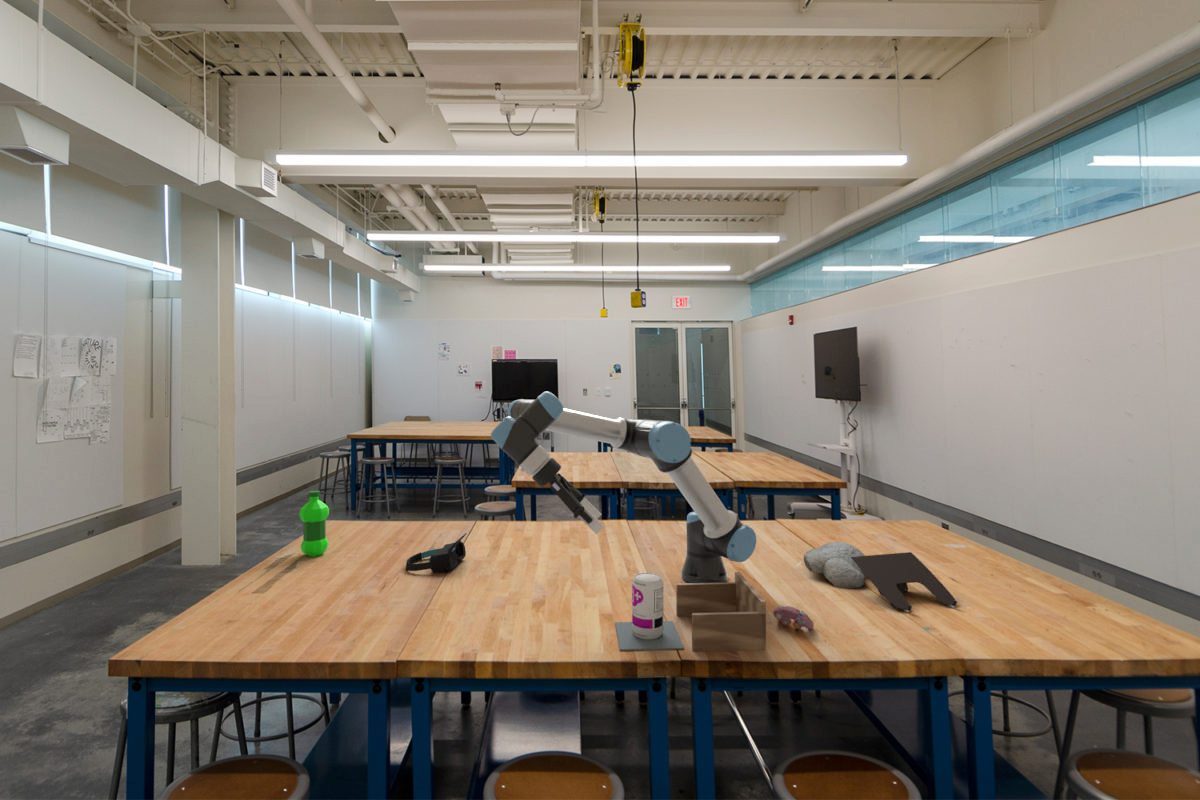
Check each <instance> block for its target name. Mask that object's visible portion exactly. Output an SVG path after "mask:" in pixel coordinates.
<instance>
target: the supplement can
mask: <svg viewBox="0 0 1200 800" xmlns="http://www.w3.org/2000/svg"><path fill="white" fill-rule="evenodd" d="M663 581H664V580H663V579H662V576H660V574H657V573H652V572H640V573H636V574H635V575H634V578H633V580H632V581H631V588H632V589H631V591H632V592H631V593H632V594H631V595H632V596H631V597H632V598H631V600H632V601H631V605H632V606H631V607H632V608H631V622H632V632H633V633H634V634H635V636H636V637H638V638H641V639H645V640H653V639H657V638H659V637H660V636H661V635H662V634H663V621H664V582H663Z"/></svg>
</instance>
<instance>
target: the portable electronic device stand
mask: <svg viewBox="0 0 1200 800" xmlns="http://www.w3.org/2000/svg"><path fill="white" fill-rule="evenodd" d="M851 559H853V560H854V562H855V563H856V564H857V565H858V567H859V568H860V569H861V570H862V572H863V573H864V574H865V575H866V576H867V577H868V578H867V579H868V581H870V582H871V583H872V584H873V585H874V587H875V588H876V589H877V591H878V593H879V594H880V595H883V596H884V598H885V599H887V600H888V601H889V603H890V604H889V605H890V607H892V608H893V609H898V610H903V611H904V612H905V613H907V614H909V613H910V612H911V610H912V609H913V605H911V604H910V603H909V601H907V599H906V598H905V595H904V594H903V593H907V592H908V591H909V587H908V584H910V583H918V584H920V585H922V586H923V587H925V588H926V589H927V590H928V591H929V592H930V593H931V594H932V595H933V596H935V597H936V598H937V599H938V600H939V601H940V602H942V603H943V604H944V605H946V606H948V607H949V608H951V609H952V608H953V609H954V608H955V607H956V606H957V603H958V601H957V600H956V598H955V597H954V596H953V595H952V593H951V592H950V591H949V590H948V589H947V588H946V587H945V585H944V584H943V583H942V582H941V581H940V580H939V579H938V578H937V576H936V575H934V574H933V572H932V571H931V570H930V569H929V568H928V567H927V566H926V565H925V564H924V563H923V562H921V560H920V559H919V558H918V557H917V556H916V555H915V554H914V553H913V552H912V551H908V552H897V553H886V554H885V553H883V554H872V555H871V554H870V555H865V556H856V557H851Z"/></svg>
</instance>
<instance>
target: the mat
mask: <svg viewBox="0 0 1200 800" xmlns="http://www.w3.org/2000/svg"><path fill="white" fill-rule="evenodd" d="M614 625H615V631H616V637H617V641H618V647H619V652H622V651H627V652H628V651H665V650H667V651H668V650H685V647H684V644H683V643H682V640H681V637H680V635H679V633H678V630H677V628H676V625H675V623H674V621H673V620H663V634H662V635H661V636H660V637H659V638H657V639H653V640H645V639H641V638H638V637H636V636H635V634H634V633H633V632H632V621H615V623H614Z"/></svg>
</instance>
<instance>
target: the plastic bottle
mask: <svg viewBox="0 0 1200 800" xmlns="http://www.w3.org/2000/svg"><path fill="white" fill-rule="evenodd" d="M307 494H308V495H307V497H309V501H307V502H306V503H305V504H304V505H302V507H301V508H300V510H299V512H298V514H299V519H300V521H302V522H303V523H302V525H303V527H302V529H303V540H302V542H301V544H300V549H301V552H302V553H303V554H305V555H306V556H307V555H308V557H317V556H316V555H319V556H321V554H322V555H323V554H324V552H325V551H326V550H327V549H328V546H329V539H328V538H327V536H326V535H327V533H326V531H327V530H326V528H327V525H326V524H327V523H326V521H327V518H328V517H329V516H330V515H329V514H330V508H329V506H328V505H327V504H326V503H324V502H323V501H322V500H320V496H321V491H320V490H310V491H308V492H307Z"/></svg>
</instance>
